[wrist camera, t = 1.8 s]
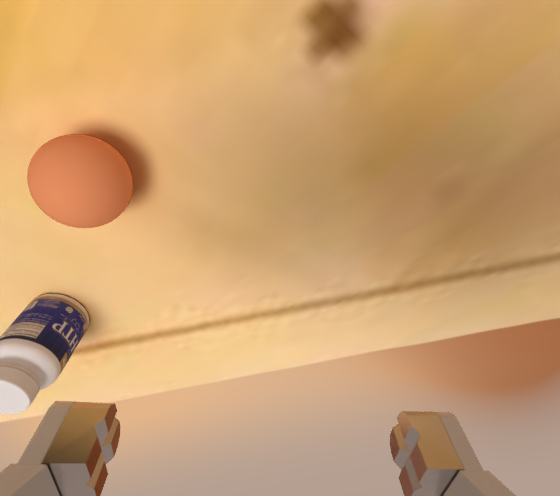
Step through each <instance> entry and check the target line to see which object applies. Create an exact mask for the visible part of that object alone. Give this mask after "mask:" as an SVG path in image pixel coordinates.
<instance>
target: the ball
mask: <svg viewBox="0 0 560 496" xmlns="http://www.w3.org/2000/svg"><path fill="white" fill-rule="evenodd" d="M27 180H28V187H29V190H30V193H31V195H32V198H33V199H34V201H35V203H36V204H37V205H38V207H39V208H40V209H41V210H42V211H43V212H44V213H45V214H47V215H48V216H49V217H51V218H52V219H54V220H55V221H57V222H59V223H62V224H64V225H67V226H72V227H77V228H92V227H98V226H101V225H104V224H107V223H109V222H111V221H112V220H114V219H116V218H117V217H118V216H119V215H120V214H121V213H122V212H123V211H124V210H125V208H126V207H127V205H128V203H129V201H130V199H131V195H132V190H133V181H132V175H131V172H130V169H129V167H128V165H127V163H126V161H125V160H124V158H123V157H122V156H121V154H120V153H119V152H118V151H117V150H116V149H114V148H113V147H112V146H110V145H109V144H107V143H106V142H104V141H102V140H100V139H98V138H95V137H91V136H87V135H81V134H71V135H64V136H60V137H57V138H54V139H52V140H50V141H48V142H47V143H45V144H44V145H42V146H41V147H40V148H39V149H38V150H37V152H36V153H35V154H34V156H33V157H32V159H31V162H30V164H29V167H28V175H27Z"/></svg>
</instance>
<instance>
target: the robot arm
mask: <svg viewBox="0 0 560 496" xmlns="http://www.w3.org/2000/svg"><path fill="white" fill-rule="evenodd" d="M116 412H117V409H116V405H115V403H92V402H72V401H55V402H54V403H53V404H52V405H51V406H50V408H49V409H48V411H47V413H46V414H45V416H44V418H43V420H42V421H41V423H40V425H39V427H38V428H37V430H36V432H35V434H34V435H33V437H32V439H31V441H30V442H29V444H28V446H27V448H26V449H25V451H24V453H23V455H22V456H21V458H20V460H19V462H18V463H17V464H10V465H9V466H8V467H6V468H5V469H4V470H3V471H1V472H0V496H100V495H101V492H102V489H103V487H104V484H105V481H106V478H107V475H108V473H107V469H106V464H107V463H108V462H109V461H110V460H111V459H112V458H113V457H114V455H115V452H116V449H117V446H118V442H119V437H120V422H119V420H118V419H116V418H115V415H116ZM397 420H398V423H399V424H398V425H396V426H395V427H393V429H392V431H391V434H390V447H391V453H392V457H393V460H394V462H395V463H396V464H397V465H398V466H399V467H400V468H401V473H400V476H399V480H400V483H401V486H402V490H403V493H404V496H516V495H515V494H513V493H512V492H511V491H510V490H509V489H508V488H507V487H506V486H505V485H503V484H502V483H501V482H500V481H499V480H498V479H497V478H496V477H495V476H494V475H493V474H491V473H490V472H489V471H484V470H483V469H482V467H481V465H480V463H479V461H478V459H477V457H476V455H475V453H474V451H473V449H472V447H471V445H470V443H469V441H468V439H467V437H466V435H465V433H464V431H463V429H462V427H461V426H460V423H459V421H458V420H457V418H456V416H455V415H454V414H453V413H449V412H418V411H416V412H415V411H414V412H413V411H402V412H401V413H399V415H398V417H397Z"/></svg>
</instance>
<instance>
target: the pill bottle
mask: <svg viewBox="0 0 560 496" xmlns="http://www.w3.org/2000/svg"><path fill="white" fill-rule="evenodd" d="M88 326H89V316H88V313H87V311H86V310H85V308H84V307H83V306H82V305H81V304H80V303H78V302H77V301H75V300H74V299H72V298H70V297H67V296H64V295H60V294H44V295H41V296H38V297H37V298H35V299H34V300H33V301H32V302H31V303H30V304H29V305H28V306H27V307H26V308H25V309H24V311H23V312H22V313H21V314H20V315H19V316H18V317H17V319H16V320H15V321H14V322H13V323H12V324H11V325H10V327H9V328H8V329H7V330H6V331H5V332H4V333H3V335H2V336H1V337H0V413H1V414H17V413H21V412H23V411H25V410H26V409H28V408H29V406H30V405H31V403H32V402H33V400H34V399H35V397H36V395H37V394H38V392H39V390H41V389H44V388H46V387H48V386H50V385H51V384H53V383H54V382H55V380H56V379H57V378H58V376H59V375H60V373H61V372H62V370H63V368H64V367H65V365H66V363H67V362H68V360H69V358H70V357H71V355H72V353H73V352H74V350H75V348H76V347H77V345H78V343H79V342H80V340H81V338H82V337H83V335H84V334H85V332H86V330H87V328H88Z"/></svg>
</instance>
